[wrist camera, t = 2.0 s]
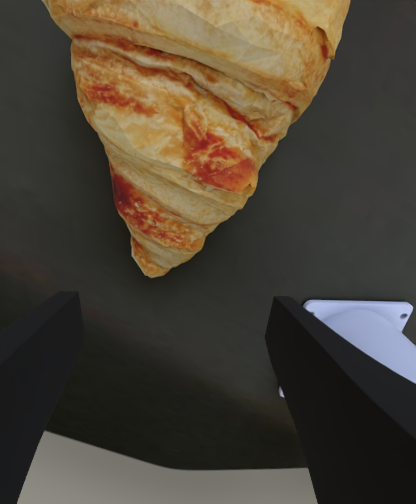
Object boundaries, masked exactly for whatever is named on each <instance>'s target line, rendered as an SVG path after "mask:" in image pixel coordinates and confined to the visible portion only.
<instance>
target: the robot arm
mask: <svg viewBox="0 0 416 504" xmlns="http://www.w3.org/2000/svg"><path fill="white" fill-rule="evenodd" d="M412 310H413V307H412V306H411V305H410V304H409V303H408V302H384V301H340V300H309V301H306V302H305V303H304V305H303V306H302V305H300V304H299V303H298V302H296V301H295V300H294V299H292V298H291V297H286V296H274V299H273V303H272V308H271V312H270V316H269V321H268V325H267V329H266V334H265V340H266V345H267V349H268V353H269V357H270V361H271V364H272V366H273V369H274V372H275V374H276V377H277V379H278V382H279V385H280V388H279V394H280V396H281V397H285V400H286V402H287V405H288V408H289V410H290V413H291V415H292V418H293V420H294V423H295V426H296V429H297V432H298V435H299V438H300V441H301V445H302V448H303V452H304V455H305V459H306V462H307V466H308V469H309V473H310V476H311V480H312V484H313V488H314V492H315V495H316V499H317V502H318V504H416V346H415V345H414V344H413V343H412V342H411V341H410V340H409V339H408V338H406V337H405V336H404V335H403V334H402V333H401V332H402V330H403V328H404V326H405V324H406V322H407V320H408V318H409V316H410V314H411V312H412ZM310 312H311V313H310ZM84 337H85V334H84V327H83V320H82V314H81V307H80V300H79V293H78V292H61V291H60V292H59V293H57V294H55V295H54V296H52V297H50V298H49V299H47V300H46V301H44V302H43V303H41V304H40V305H38V306H37V307H35V308H34V309H32V310H31V311H29V312H28V313H26V314H25V315H23V316H22V317H20V318H19V319H17V320H16V321H14V322H13V323H11V324H10V325H8V326H7V327H5V328H3V329H2V330H0V504H17V501H18V498H19V495H20V493H21V490H22V487H23V484H24V481H25V479H26V476H27V473H28V471H29V468H30V465H31V462H32V460H33V457H34V454H35V452H36V449H37V446H38V444H39V442H40V439H41V437H42V435H43V432H44V430H45V428H46V426H47V424H48V422H49V419H50V417H51V415H52V413H53V411H54V409H55V407H56V405H57V403H58V401H59V398H60V396H61V394H62V392H63V390H64V388H65V386H66V384H67V382H68V379H69V377H70V375H71V373H72V371H73V369H74V367H75V364H76V362H77V359H78V356H79V353H80V350H81V347H82V344H83V341H84Z"/></svg>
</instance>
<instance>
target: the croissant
mask: <svg viewBox="0 0 416 504" xmlns="http://www.w3.org/2000/svg"><path fill="white" fill-rule="evenodd" d="M42 1H43V3H44V4H45V6H46V7H47V9H48V10H49V12H50V15H51V17H52V19H53V20H54V21H55V23H56V24H57V25H58V26H59V27H60V28H61V29H62V30H63V31H64V32H65V33H66V34H67V35H68V36H69V37H70V38H71V39H72V44H71V47H70V48H71V65H72V70H73V72H74V77H75V82H76V89H77V98H78V101H79V104H80V106H81V108H82V110H83V113H84V115H85V117H86V119H87V121H88V122H89V124H90V125H91V126H92V127H93V128H94V130H95V131H97V132H98V135H99V138H100V140H101V141H102V143H103V144H104V147H105V152H106V154H107V156H108V158H109V165H110V172H111V180H112V189H113V197H114V202H115V206H116V208H117V211H118V213H119V215H120V216H121V217H122V218H123V219H124V220H125V222H126V224H127V227H128V229H129V231H130V233H131V246H132V257H133V258H134V260H135V261H136V262H137V264H138V265H139V267H140V268H141V270H142V271H143V273H144V274H145V275H146V276H149V277H150V278H153V277H158V276H163V275H165V274H166V273H167V272H168V271H169V270H170V269H171V268H172V267H177V266H178V265H179V264H181V263H184V262H186V261H188V260H190V259H191V258H192V257H193V256H194V255H195V253H197V252H199V251H200V250H201V249H202V247H203V245H204V241H205V238H206V236H207V235H208V234H209V233H211V232H213V231H214V229H215V228H216V227H217V226H218V224H219V223H221V222H223V221H225V220H227V219H228V218H230V217H231V216H232V215H234V214H235V212H236V211H237V210H238V209H239V210H241V209H242V208H243V207H244V205H245V203H246V201H247V199H248V198H249V197H250V196H252V195H253V193H254V191H255V189H256V187H257V184H256V183H257V181H258V171H259V169H260V167H261V166H262V164H263V163H265V161H266V158H267V157H268V156H269V155H270V154H271V153H272V152H273V151H274V150H275V148H276V147H277V145H278V141H279V140H280V139H282V138H283V137H285V136H286V133H287V130H288V127H289V125H291V124H292V123H294V122H295V121H297V119H298V118H299V117H300V116H301V114H302V113H303V112H304V111H305V110H306V108H307V107H308V106H309V105H310V103H311V101H312V99H313V97H314V96H315V95H316V94H317V91H318V89H319V87H320V85H321V83H322V82H323V80H324V78H325V76H326V73H327V71H328V68H329V66H330V61H331V59H334V56H335V50H336V48H337V46H338V43H339V41H340V39H341V34H342V27H343V23H344V20H345V18H346V15H347V12H348V9H349V5H350V0H42Z"/></svg>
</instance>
